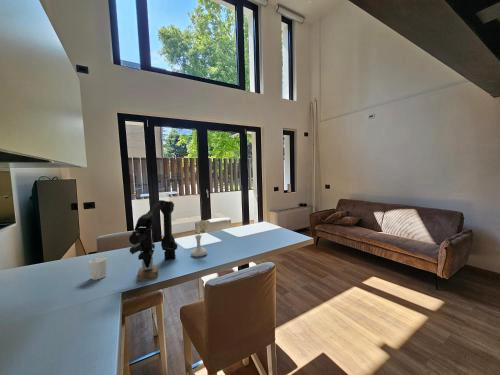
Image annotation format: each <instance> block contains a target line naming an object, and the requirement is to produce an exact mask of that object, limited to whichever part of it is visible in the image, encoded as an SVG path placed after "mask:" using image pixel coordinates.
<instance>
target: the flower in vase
mask: <svg viewBox="0 0 500 375" xmlns="http://www.w3.org/2000/svg"><path fill="white" fill-rule="evenodd" d="M198 226H199V228H200V229H199V230H200V231H199V232H195V234H197V235H195V236H194V238H195V239H196V246H195V247H194V249H192V250H191V252H190V256H192V257H199V258H200V257H203V256H205V255H206V254H208V251H207V249H206V248H205V247H202V246H201V239H202V235H201V234H204V233H206V230H207V229H209V228H208V226H209V225H208V223H207V221H205V220H204V219H200V220H199V221H198Z"/></svg>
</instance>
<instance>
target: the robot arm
mask: <svg viewBox="0 0 500 375" xmlns="http://www.w3.org/2000/svg"><path fill="white" fill-rule="evenodd" d="M174 209H175V203H174V202H173V201H171V200H170V201H169V200H167V201H166V200H163V199H161V200H160V199H159V200H158V199H157V200H155V203H154V205H153V206H151V208H150V209H149V210H148V211H147V212H146V213H144V214H142V215H140V217H138V219H137V221H136V224H135V227H134V229H133V230H134V231H132V234H130V236H129V239H128V240H129V243H130V244H132V246H131V247H130V248H129V254H131V255H134V254H136V253H138V252H140V253H139V254H138V255H137V256H138V257H137V258H138V260H140V261H142V260H144V263H145V266H146V268H148V267H149V264H150V261H151V258H152V257H153V255H154V252H155V247H156V244H154V243H153V240H154V239H153V231H152V230H154V227H153V225H154V223H155V217H156V216H157V215H158V214H159V213H160V212H161V213H162V216H163V237H162V238H161V240H160V242H161V244H160V245H161V248H162V251H164V260H165V261H168V260H175V259H176V257H177V256H176V250H177V249H178V246H179V245H178V243H177V242H176V241H175V237H174V235H173V233H172V231H173V230H172V229H173V228H172V227H173V226H172V213H173V211H174Z"/></svg>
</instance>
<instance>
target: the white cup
mask: <svg viewBox="0 0 500 375" xmlns="http://www.w3.org/2000/svg"><path fill="white" fill-rule="evenodd" d="M88 265H89V270H90V277H91V279H92V280H95V281H97V280H101V279H104V278H106V276H107V257H103V256H102V257H97V258H92V259H91V260H89V261H88Z"/></svg>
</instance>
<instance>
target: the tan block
mask: <svg viewBox="0 0 500 375" xmlns="http://www.w3.org/2000/svg"><path fill="white" fill-rule="evenodd" d="M136 276H137V282H141V281H146V280H152V279H157V278H158V277H159V264H153V268H152V269H147V270H142V266H140V267H139V268H138V271H137V273H136Z"/></svg>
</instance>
